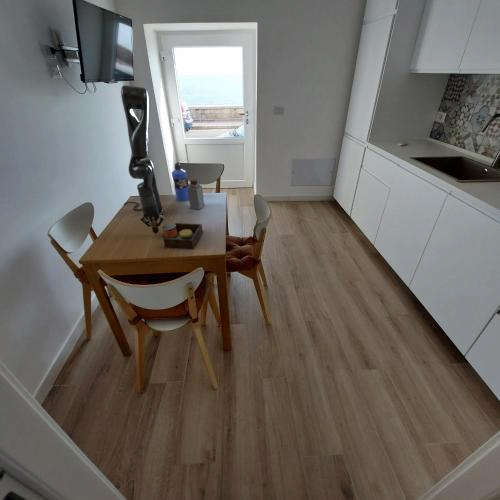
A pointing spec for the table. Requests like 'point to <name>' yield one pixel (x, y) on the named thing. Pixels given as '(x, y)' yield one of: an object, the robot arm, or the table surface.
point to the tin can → (170, 231)
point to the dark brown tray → (185, 242)
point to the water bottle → (180, 183)
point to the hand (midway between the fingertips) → (156, 232)
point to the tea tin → (186, 234)
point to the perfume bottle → (195, 195)
